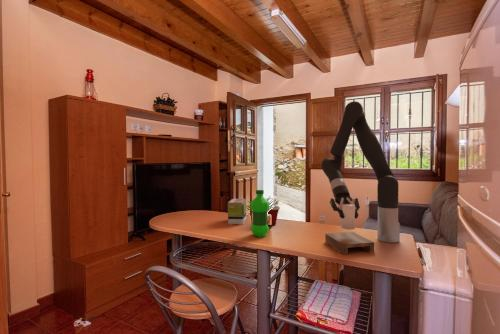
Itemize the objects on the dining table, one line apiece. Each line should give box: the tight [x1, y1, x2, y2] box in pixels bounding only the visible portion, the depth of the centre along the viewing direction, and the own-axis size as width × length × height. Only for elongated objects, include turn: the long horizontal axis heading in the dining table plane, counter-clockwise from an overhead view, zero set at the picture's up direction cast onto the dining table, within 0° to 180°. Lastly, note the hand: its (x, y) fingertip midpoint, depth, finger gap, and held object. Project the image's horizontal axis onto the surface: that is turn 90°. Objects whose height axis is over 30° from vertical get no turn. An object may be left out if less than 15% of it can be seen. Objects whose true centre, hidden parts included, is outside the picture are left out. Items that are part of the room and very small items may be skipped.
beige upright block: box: [340, 204, 356, 231], centre depth 123 cm, size 6×6×11 cm
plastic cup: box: [268, 205, 280, 227], centre depth 165 cm, size 11×11×12 cm
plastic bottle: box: [249, 189, 270, 238], centre depth 143 cm, size 10×10×25 cm
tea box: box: [227, 198, 247, 226], centre depth 174 cm, size 15×10×15 cm
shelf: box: [324, 231, 375, 256], centre depth 123 cm, size 15×17×4 cm
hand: (349, 217), depth 121 cm, fingers closed on beige upright block, 6 cm apart
